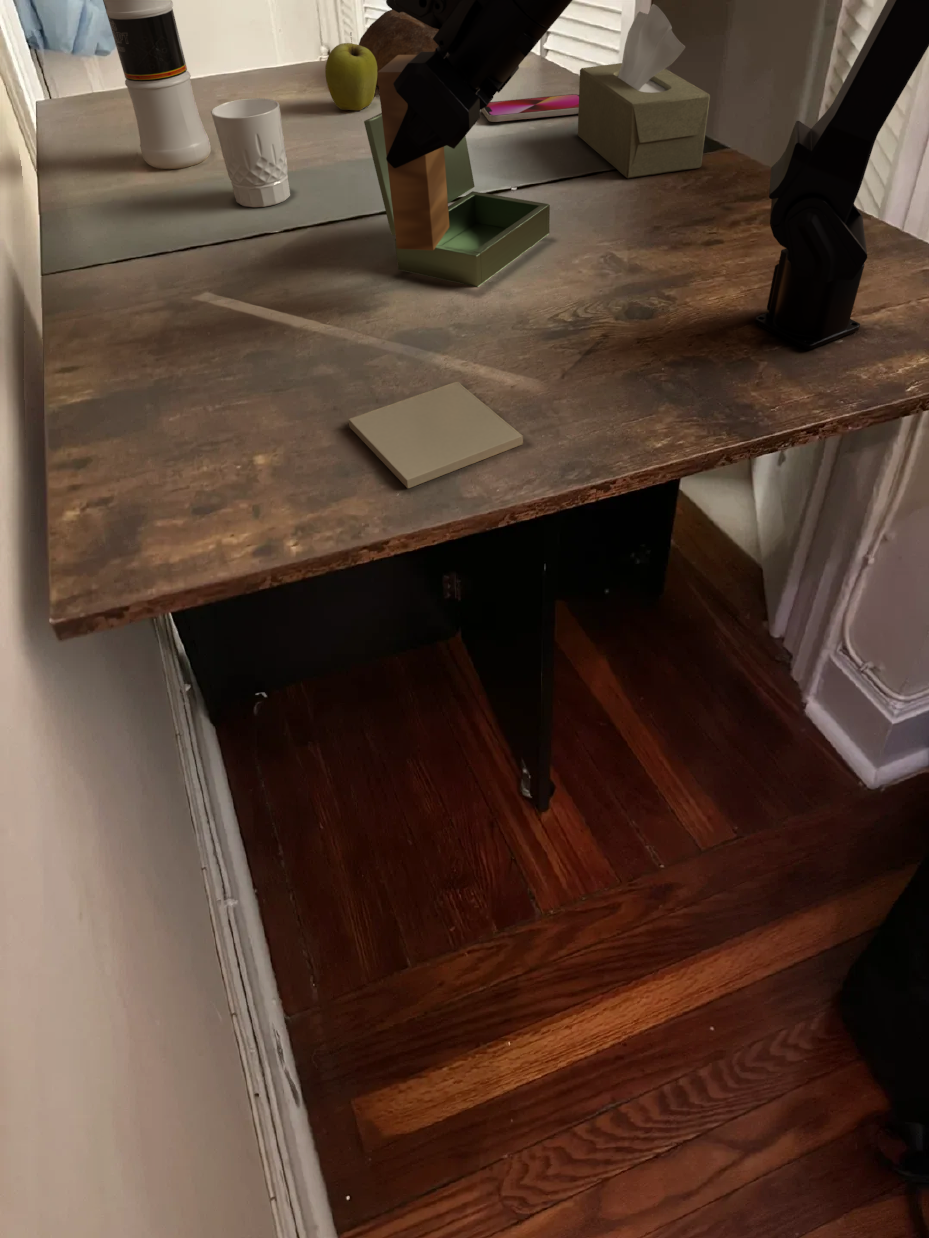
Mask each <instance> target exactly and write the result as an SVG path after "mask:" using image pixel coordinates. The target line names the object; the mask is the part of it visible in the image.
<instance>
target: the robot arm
mask: <svg viewBox="0 0 929 1238" xmlns="http://www.w3.org/2000/svg"><path fill="white" fill-rule="evenodd" d="M572 2H573V0H385V4H386V6H387V7H389V9H390V10H392V9H393V10H394V11H396V12H398V13H400V12H404V13H406V14H408V15H410V16H412V17H413V18H415V19H417V20H419V21H421V22H423V23H425V24H426V25H428V26H430V27H433V28H435V29H439V31H438V32H437V33H436V35H435V36H434V38H433V40H434V41H435V42H436V43H437V44H438V47H436V49H435V52H420V53H419V54H418V55H417V56H415V57H414V58H413V59H412V60H411V61H410V62H409V63H408V64H407V65H406V66H405V68H404V69H403V71H402V72H401V73H400V75H399V76H398V77H397V79H396V80H395V81H394V83H393V85H394V87H395V90H396V92H397V93H398V94H399V95H400V96H401V97H402V98H403V99H404V100H405V101H406V103H407V104H408V108H407V111H406V113H405V116H404V118H403V120H402V123H401V125H400V127H399V130H398V132H397V134H396V136H395V139H394V141H393V143H392V146H391V148H390V150H389V152H388V155H387V157H386V160H387V162H388V163H389V164H390V165H391V166H392V167H393V168H398V167H400V166H402V165H404V164H406V163H409V162H411V161H413V160H415V159H417V158H419V157H421V156H424V155H426V154H428V153H430V152H433V151H435V150H437V149H440V148H442V147H444V146H449V147H451V148H453V149H454V148H455V147H456V146H457V145H458V144H459V143H460V141H461V140H462V139H463V138H464V137H465V136H467V134H468V133H469V132H470V131H471V130H472V128H473V127H474V126H475V124H476V123H477V122H478V120H479V119H480V118H481V109H483V108H485V107H486V106H487V105H488V104H489V103H490V102H492V100H493V99H494V96H495V95H496V94H497V93H498V94H499V93H500V92H501V91H502V90H503V89H504V88H505V87H506V85H507V84H508V83H509V82H510V80H511V79H512V77H514V76H515V74H516V73H517V71H518V70H519V69H520V64H521V63H522V62H523V61H524V59H526V57H527V56H528V55H529V54H530V53H531V51H533V49H534V48H535V47H536V46H537V44H538V43H539V42H540V41H541V39H542V38H543V37H544V35H545V34H546V33H547V32H548V31H549V30H550V28H551V27H552V26H553V25H554V24H555V22H556V21H557V20H558V19H559V17H560V16H561V15H562V14H563V12H564V11H565V10H566V9H567V8H568V6H569V5H570V4H571V3H572ZM928 48H929V0H886V2H885V3H884V5H883V7H882V9H881V11H880V13H879V15H878V17H877V18H876V21H874V25H873V26H872V28H871V30H870V32H869V34H868V36H867V38H866V40H865V42H864V43H863V44H862V47H861V49H860V51H859V53H858V54H857V57H856V58H855V60H854V62H853V64H852V66H851V68H850V70H849V72H848V73H847V75H846V77H845V79H844V81H843V82H842V85H841V86H840V89H839V90H838V92H837V94H836V96H835V98H834V100H833V102H832V103H831V105H830V106H829V107H828V109H827V110H826V111H825V112H824V114H823V115H822V116H821V117H820V118H819V119H818V121H816V122H815V124H813V126H812V127H811V128H810V127H809V126H808V125H806V123H803V122H802V121H800V120H796V121H795V122H794V125H793V128H792V131H791V133H790V137H789V139H788V143H787V145H786V148H785V150H784V152H783V153H782V154H781V156H780V158H779V159H778V160H777V161H776V162H775V163H773V164H772V166H771V167H770V178H769V190H768V191H769V192H768V198H769V199H770V200H771V201H770V214H769V215H770V216H769V217H770V218H769V226H770V229H771V232H772V236H773V237H774V239H775V240H776V241H777V243H778V244H779V245H780V246H781V247H783V249H781V250H780V254H779V260H778V263H777V264H776V265H774V269H773V275H772V281H771V284H770V289H769V295H768V300H767V304H766V310H767V311H768V312H765V313H761V314H760V315H758V316H756V317H755V319H754V324H755V325H757V326H759V327H761V328H763V329H764V330H766V331H768V332H770V333H771V334H773V335H776V336H777V337H780V338H782V339H784V340H785V341H787V342H789V343H791V344H793V345H795V346H797V347H799V348H801V349H803V350H813V349H815V348H818V347H820V346H822V345H825V344H827V343H830V342H833V341H835V340H838V339H840V338H843V337H846V336H848V335H850V334H854V333H856V332H858V331H859V330H860V328H861V323H860V322H858V321H855V320H853V319H852V313H853V310H854V305H855V302H856V298H857V294H858V291H859V287H860V283H861V280H862V276H863V272H864V269H865V263H866V261H867V259H868V251H867V242H866V235H865V226H864V218H863V214H862V212H861V211H860V210H859V208H858V207H857V206H856V204H855V203H856V199H857V197H858V195H859V192H860V189H861V186H862V183H863V180H864V178H865V175H866V171H867V168H868V165H869V161H870V159H871V155H872V152H873V148H874V145H875V143H876V140H877V138H878V135H879V133H880V131H881V129H882V128H883V126H884V124H885V123H886V121H887V119H888V117H889V116H890V114H891V112H892V110H893V109H894V107H895V105H896V104H897V102H898V100H899V98H900V96H901V95H902V93H903V92H904V90H905V88H906V86H907V84H908V83H909V81H910V79H912V76H913V74H914V72H915V71H916V69H917V67H918V66H919V64H920V62H921V60H922V58H923V57H924V55H925V54H926V52H927V51H928Z"/></svg>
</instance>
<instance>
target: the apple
mask: <svg viewBox="0 0 929 1238" xmlns="http://www.w3.org/2000/svg"><path fill="white" fill-rule="evenodd" d="M350 35H352V32H350ZM352 39H353V38H350V42H343V43H339V44H337V45H336V46H334V47H333V48H332V50H331V51H330V52H329V53H328V56H327V59H326V63H325V70H324V71H325V80H326V84H327V88H328V91H329V94H330V95H329V96H330V97H331V99H332V101H333V103H334V104H335V106H336V107H337V108H338V109H340V110H342V111H346V110H347V111H348V110H349V111H361V110H363V109H364V108H367V107H369V106H370V105H371V104H372V102H373V101H374V97H375V93H376V88H377V85H376V82H377V63H376V59H375V57H374V55H373V54H372V52H371V51H370V50H369V49H367V48H365V47H363V46H360V45H359V44H357V43H353V40H352Z"/></svg>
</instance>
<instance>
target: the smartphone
mask: <svg viewBox="0 0 929 1238" xmlns="http://www.w3.org/2000/svg"><path fill="white" fill-rule="evenodd" d="M480 112H481V113H482V114H483V115H484V116H485V118H486V119H487V120H488V121H489V122H492V123H494V122H495V123H498V122H509V121H517V120H527V119H529V120H530V119H540V118H549V117H559V116H569V115H578V112H579V94H577V93H571V94H559V95H549V96H537V97H528V98H527V97H526V98H519V99H518V98H517V99H507V100H498V101H490V103H489V104H488V105H487V106H486V107H485V108H483V109H481V110H480Z"/></svg>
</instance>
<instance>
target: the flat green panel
mask: <svg viewBox="0 0 929 1238" xmlns="http://www.w3.org/2000/svg"><path fill="white" fill-rule="evenodd" d="M363 124H364V128H365V132H366V136H367V141H368V144H369V148H370V153H371V156H372V157H371V158H372V160H373V164H374V170H375V173H376V177H377V181H378V185H379V190H380V194H381V197H382V203H383V206H384V210H385V214H386V218H387V222H388V227H389V230H390V231H389V232H390V235H391V236H396V235H395V226H394V217H393V209H392V200H391V191H390V182H389V173H388V164H387V160H386V157H387V156H386V147H385V138H384V129H383V120H382V112H381V113H378V114H377V115H374V116H372V117H370V118H368V119H366V120H364V121H363ZM466 136H467V135H465V137H464V138H463V139H462V140H461V141H460V143H459V144H458V145H457V146H456V147H455V148H454V149H453V148H451V147H449V146H444V156H445V170H446V185H447V199H448V204H450V203H451V202H452V201H453V202H454V200H456V199H458V198H459V197H461V196H462V195H464V194H465V193H467V192H469V191H470V190H472V189H473V188H475V187H476V186H475V180H474V175H473V170H472V164H471V158H470V153H469V148H468V143H467V142H468V141H467V137H466Z"/></svg>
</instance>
